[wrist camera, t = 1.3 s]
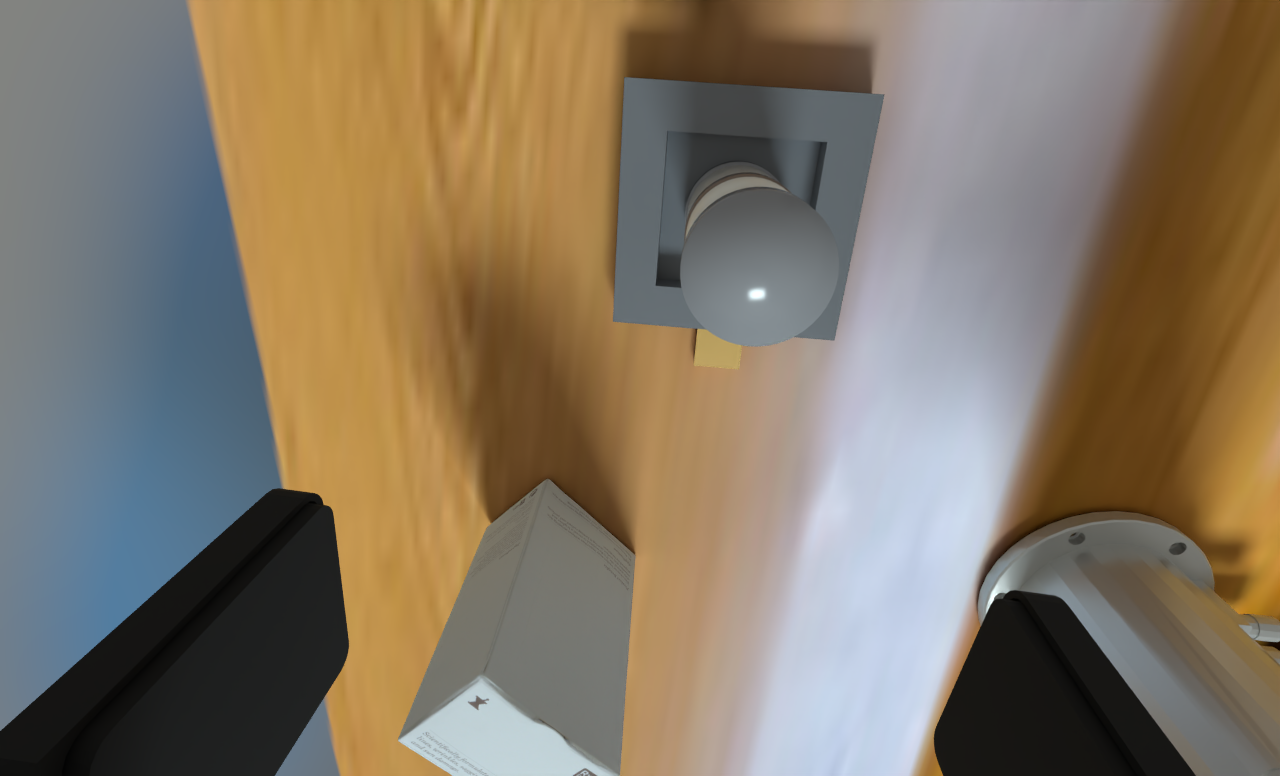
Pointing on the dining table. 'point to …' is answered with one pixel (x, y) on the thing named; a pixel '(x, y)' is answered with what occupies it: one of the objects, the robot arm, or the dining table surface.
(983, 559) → the dining table surface
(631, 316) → the socket
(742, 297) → the cylinder
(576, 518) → the skincare box
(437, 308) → the dining table surface
